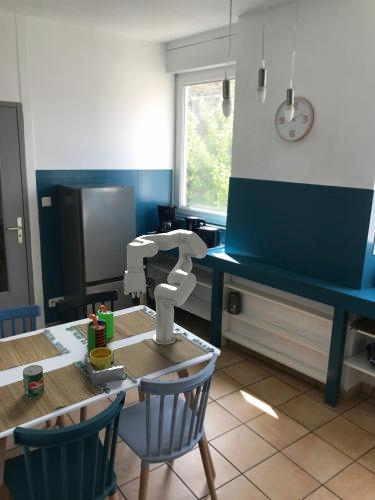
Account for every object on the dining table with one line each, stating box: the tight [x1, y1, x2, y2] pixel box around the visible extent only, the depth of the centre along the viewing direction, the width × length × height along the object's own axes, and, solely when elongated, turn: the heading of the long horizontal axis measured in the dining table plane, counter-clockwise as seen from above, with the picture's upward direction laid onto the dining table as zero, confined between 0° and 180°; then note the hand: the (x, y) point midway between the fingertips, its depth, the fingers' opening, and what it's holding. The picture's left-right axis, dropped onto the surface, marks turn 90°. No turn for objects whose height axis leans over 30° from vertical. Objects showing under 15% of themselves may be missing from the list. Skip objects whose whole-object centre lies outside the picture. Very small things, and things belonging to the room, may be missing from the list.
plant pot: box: [90, 347, 113, 371], centre depth 186 cm, size 10×10×10 cm
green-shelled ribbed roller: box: [97, 304, 115, 339], centre depth 221 cm, size 9×8×18 cm
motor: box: [86, 313, 108, 354], centre depth 203 cm, size 10×9×20 cm
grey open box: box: [84, 349, 125, 386], centre depth 186 cm, size 14×17×6 cm
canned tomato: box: [22, 364, 45, 400], centre depth 168 cm, size 8×8×11 cm
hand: (135, 304), depth 197 cm, fingers closed
